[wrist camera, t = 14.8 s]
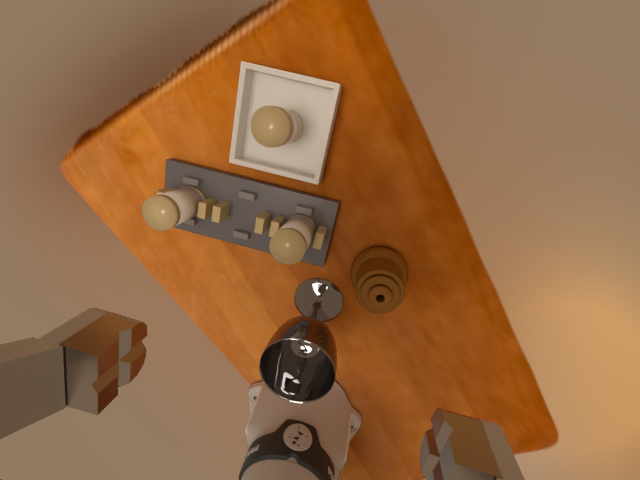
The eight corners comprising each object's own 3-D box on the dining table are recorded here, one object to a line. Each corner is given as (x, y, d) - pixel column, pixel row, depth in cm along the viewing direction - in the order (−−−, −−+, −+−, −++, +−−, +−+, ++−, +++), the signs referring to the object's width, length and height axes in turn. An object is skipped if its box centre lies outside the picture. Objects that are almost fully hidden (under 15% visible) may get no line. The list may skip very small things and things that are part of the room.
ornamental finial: (401, 298, 46) (348, 290, 47) (411, 248, 44) (355, 240, 44) (407, 331, 39) (343, 321, 39) (420, 273, 36) (351, 263, 37)
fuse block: (324, 262, 46) (319, 276, 42) (168, 221, 47) (148, 230, 43) (339, 200, 43) (336, 208, 39) (172, 158, 44) (152, 161, 40)
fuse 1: (205, 218, 45) (174, 234, 38) (177, 210, 45) (141, 226, 38) (208, 189, 43) (176, 201, 36) (179, 181, 44) (142, 192, 37)
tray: (321, 181, 42) (317, 184, 40) (238, 160, 43) (228, 162, 40) (342, 87, 39) (340, 83, 36) (250, 65, 39) (241, 61, 36)
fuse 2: (312, 246, 44) (300, 269, 37) (283, 238, 44) (266, 259, 37) (319, 218, 42) (308, 236, 35) (289, 210, 43) (273, 226, 36)
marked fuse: (306, 113, 40) (293, 110, 33) (299, 147, 41) (285, 152, 34) (273, 104, 40) (253, 100, 33) (268, 139, 41) (247, 142, 34)
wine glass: (323, 265, 46) (302, 325, 32) (357, 308, 47) (351, 384, 33) (280, 293, 48) (243, 361, 34) (313, 333, 50) (291, 414, 36)
